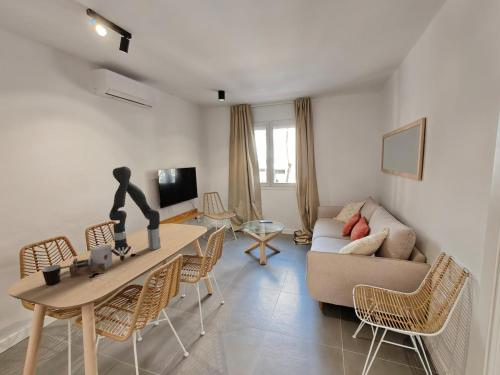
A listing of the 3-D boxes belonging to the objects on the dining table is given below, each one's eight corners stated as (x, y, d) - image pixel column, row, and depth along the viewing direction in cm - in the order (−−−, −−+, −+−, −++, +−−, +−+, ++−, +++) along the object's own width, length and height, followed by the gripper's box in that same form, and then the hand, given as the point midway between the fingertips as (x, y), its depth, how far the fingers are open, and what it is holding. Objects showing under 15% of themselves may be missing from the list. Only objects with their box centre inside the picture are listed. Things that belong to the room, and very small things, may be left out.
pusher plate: (93, 265, 157) (92, 254, 155) (91, 271, 147) (90, 260, 146) (62, 271, 148) (60, 260, 147) (57, 278, 139) (56, 266, 138)
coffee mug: (51, 279, 139) (49, 264, 137) (66, 279, 139) (64, 264, 138) (35, 290, 127) (33, 274, 126) (51, 289, 128) (49, 273, 127)
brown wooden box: (106, 262, 162) (106, 253, 161) (104, 271, 149) (103, 261, 148) (75, 268, 153) (74, 258, 153) (70, 278, 140) (69, 267, 139)
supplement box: (104, 270, 150) (101, 249, 148) (92, 269, 151) (89, 249, 149) (113, 264, 159) (111, 244, 157) (102, 263, 160) (100, 243, 158)
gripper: (130, 234, 164) (132, 256, 167) (109, 237, 158) (112, 260, 161) (130, 237, 158) (132, 260, 160) (109, 241, 151) (111, 264, 154)
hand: (122, 260), depth 160 cm, fingers closed
